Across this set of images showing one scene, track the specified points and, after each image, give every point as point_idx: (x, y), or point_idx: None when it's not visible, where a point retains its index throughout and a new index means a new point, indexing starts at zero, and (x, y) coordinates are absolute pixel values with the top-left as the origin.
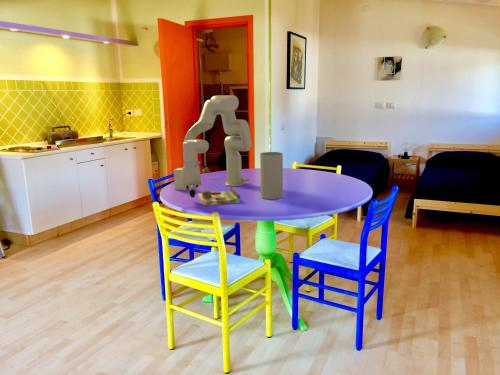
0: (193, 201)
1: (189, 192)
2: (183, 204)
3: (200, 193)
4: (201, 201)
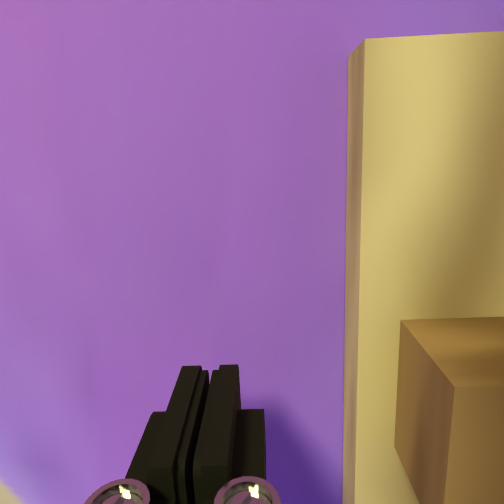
0: (236, 331)
1: (138, 455)
2: (88, 438)
3: (426, 44)
4: (346, 426)
